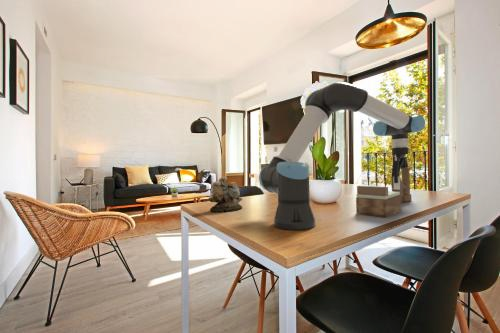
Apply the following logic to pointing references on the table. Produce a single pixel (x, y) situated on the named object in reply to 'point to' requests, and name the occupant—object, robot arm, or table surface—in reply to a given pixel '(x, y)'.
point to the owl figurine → (225, 196)
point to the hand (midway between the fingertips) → (401, 188)
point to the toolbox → (378, 206)
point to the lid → (375, 192)
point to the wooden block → (404, 186)
